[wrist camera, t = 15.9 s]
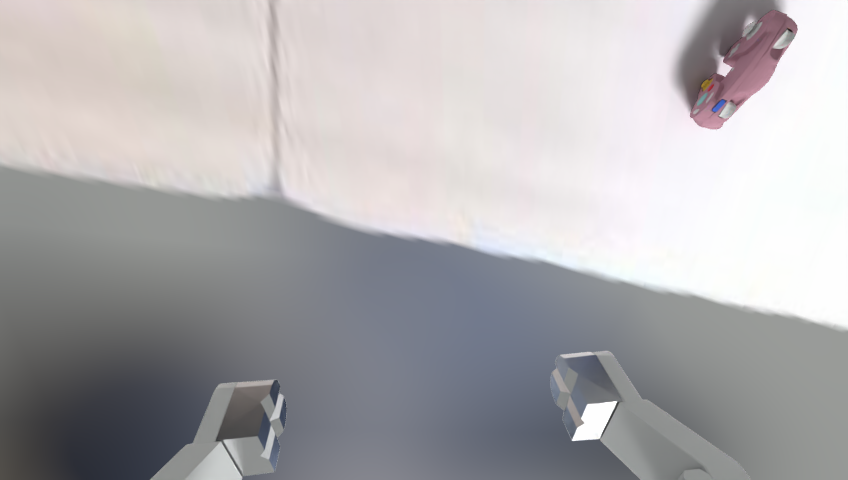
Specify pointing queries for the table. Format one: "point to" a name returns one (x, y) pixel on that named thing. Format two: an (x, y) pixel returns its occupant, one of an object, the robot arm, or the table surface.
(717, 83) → the video game controller
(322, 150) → the table surface
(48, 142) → the table surface
